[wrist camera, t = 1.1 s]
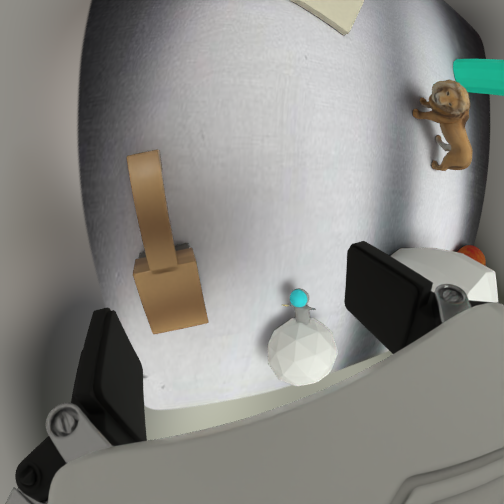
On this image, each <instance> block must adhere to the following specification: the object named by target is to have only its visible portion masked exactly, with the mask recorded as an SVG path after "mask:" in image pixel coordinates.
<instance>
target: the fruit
mask: <svg viewBox="0 0 504 504" xmlns="http://www.w3.org/2000/svg"><path fill="white" fill-rule="evenodd" d="M457 252H458V253H463V254H464V255H466V256H468V257H470V258H472V259H474V260H475V261H477V262H479V263H481V264H483V265H484V266H485V257H484V255H483V253H482V252H481V251H480V250H479V249H478V248H476V247H475V246H472V245H467V246H464V247H462V248H461V249H459V250H458V251H457Z"/></svg>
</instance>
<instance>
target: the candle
mask: <svg viewBox="0 0 504 504" xmlns="http://www.w3.org/2000/svg"><path fill="white" fill-rule="evenodd" d="M453 71H454V76H455V79H456V82H458V83H460V85H462V86H463V87H464V88H465V89H466V91H467V92H472V93H483V94H493V95H502V96H504V60H496V59H456V60H455V61H454V63H453Z"/></svg>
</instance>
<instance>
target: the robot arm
mask: <svg viewBox="0 0 504 504" xmlns="http://www.w3.org/2000/svg"><path fill="white" fill-rule="evenodd" d="M432 285H433V282H431V281H430V280H428V279H426V278H425V277H423V276H422V275H420V274H419V273H417V272H415V271H414V270H412V269H411V268H409V267H407V266H406V265H404V264H402V263H401V262H399V261H397V260H396V259H394V258H393V257H391V256H389V255H387V254H386V253H384V252H382V251H381V250H379V249H377V248H376V247H374V246H372V245H370V244H369V243H367V242H365V241H361V242H358V243H354V244H352V245H351V246H350V248H349V249H348V252H347V272H346V289H345V306H346V308H347V310H348V311H349V312H350V313H352V314H353V315H354V316H355V317H356V318H357V319H358V320H359V321H360V322H361V323H362V324H363V325H364V326H365V327H366V328H367V329H368V330H369V331H370V332H371V333H372V334H373V335H374V336H375V337H376V338H377V339H378V340H379V341H380V342H381V343H382V344H383V345H384V346H385V347H386V348H388V349H389V350H390V351H391V352H392V353H393V355H391V356H389V357H387V358H386V359H384V360H382V361H380V362H378V363H376V364H375V365H373V366H371V367H369V368H367V369H365V370H363V371H361V372H359V373H357V374H355V375H353V376H351V377H349V378H347V379H345V380H343V381H341V382H339V383H337V384H334V385H332V386H330V387H328V388H326V389H323V390H321V391H319V392H316V393H314V394H312V395H309V396H307V397H304V398H302V399H299V400H297V401H294V402H292V403H289V404H286V405H283V406H280V407H278V408H275V409H272V410H269V411H266V412H263V413H260V414H257V415H254V416H251V417H248V418H245V419H241V420H238V421H234V422H231V423H227V424H223V425H220V426H216V427H212V428H208V429H204V430H199V431H195V432H190V433H186V434H181V435H176V436H171V437H166V438H160V439H154V440H148V441H147V439H146V427H145V414H144V395H143V369H142V365H141V362H140V360H139V358H138V356H137V354H136V353H135V351H134V349H133V347H132V345H131V343H130V341H129V339H128V337H127V335H126V333H125V331H124V329H123V327H122V325H121V322H120V320H119V318H118V316H117V314H116V312H115V311H114V310H113V311H111V310H110V309H109V308H104V309H100V310H96V311H94V312H93V315H92V319H91V322H90V326H89V329H88V333H87V337H86V340H85V344H84V348H83V350H82V352H81V356H80V361H79V366H78V369H77V374H76V379H75V384H74V389H73V394H72V401H71V403H63V404H60V405H58V406H56V407H55V408H54V409H53V410H52V411H51V412H50V413H49V415H48V417H47V420H46V430H47V432H48V435H49V436H48V437H47V438H46V439H45V440H44V441H43V442H42V443H41V444H40V445H39V446H37V447H36V448H35V449H34V450H33V451H32V452H31V453H30V454H29V455H28V456H27V457H26V458H25V459H24V460H23V461H22V462H21V463H20V464H19V465H18V467H17V470H16V483H17V485H18V489H16V488H13V490H12V491H11V493H10V495H9V497H8V499H7V502H6V504H504V305H503V304H501V303H498V302H496V303H494V302H483V301H473V300H469V299H468V297H467V295H466V293H465V291H463V290H462V289H461V288H459V287H458V286H455V285H452V284H441V285H439V286H437V287H436V289H435V292H432V291H431V289H432Z"/></svg>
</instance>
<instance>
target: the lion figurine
mask: <svg viewBox="0 0 504 504" xmlns="http://www.w3.org/2000/svg"><path fill="white" fill-rule="evenodd" d="M420 103H421V105H422V106H424V107H427V108H431V109H432V111H429V112H421V111H419V110H418V109H414V110H413V116H414V117H415V118H417V119H428V120H432V121H435V122H437V123H440V127H441V131H442V133H443V135H444V137H445V139H446V141H447V142H448V143H449V144H445V143H443V142H442V140H441V137H440V136H439V135H437V136H436V142H437V144H438V145H440V146H441V147H442V148H443V149H444V150H445V151H449V152H448V153H447V154H446V156H445V157H444V158H443V161H442V163H441V165H438V163H437V161H434V160H433V161H432V164H431V166H432V168H433V169H435V170H441V171H446V170H447V169H451V170H462V169H465V168H467V167H468V166H469V165H470V163H471V161H472V147H471V144H470V142H469V140H468V137H467V134H466V130H465V124H466V122H467V120H468V118H469V108H470V98H469V96H468V93H467V91H466V89H465V88H464V87H463V86H462V85H460V83H458V82H455V81H452V80H446V81H439V82H437V83H435V84H433V87H432V94H431V95H430V97H429V102H426V99H424V98H420Z"/></svg>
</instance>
